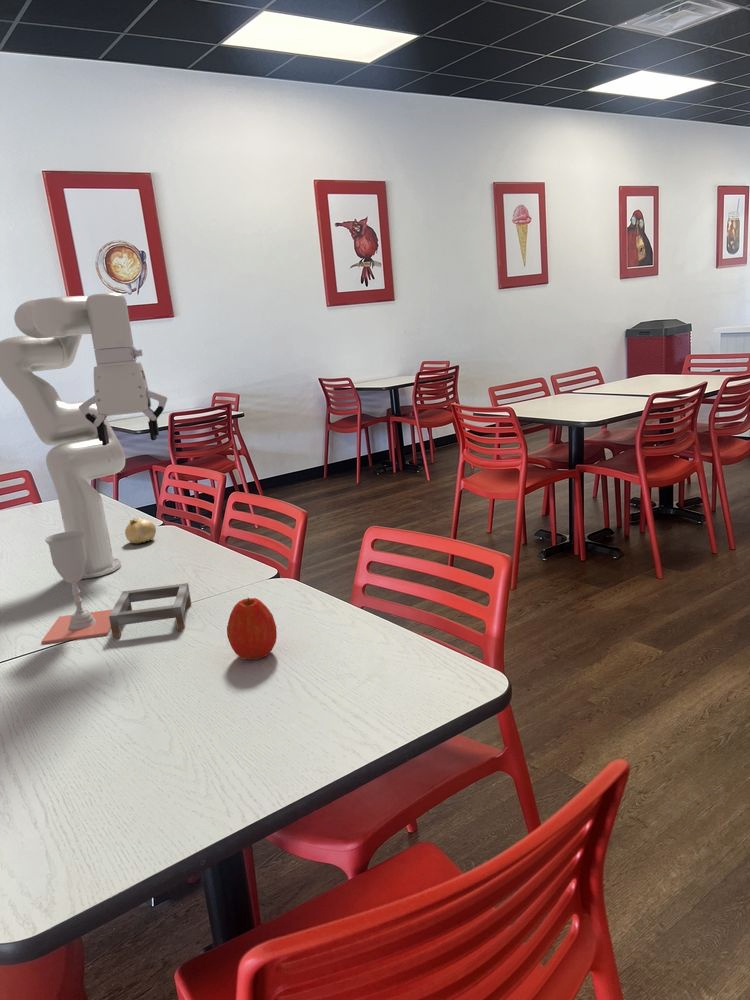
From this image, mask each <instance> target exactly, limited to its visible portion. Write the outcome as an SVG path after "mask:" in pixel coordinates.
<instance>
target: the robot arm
mask: <svg viewBox="0 0 750 1000" xmlns="http://www.w3.org/2000/svg"><path fill="white" fill-rule="evenodd" d="M127 303H128V302H127V299H126V297H125V295H123V294H122V293H118V292H105V293H104V292H103V293H102V292H101V293H94V294H91V295H74V296H72V295H71V296H70V295H69V296H67V295H66V296H54V297H53V296H51V297H44V298H38V299H31V300H28V301H27V300H26V301H24V302H23V303H21V304H19V306H18V307H17V308H16V310H15V312H14V317H13V319H14V324H15V327H17V329H18V330H19V331H20V332H21V333H22V334H23V335H22V336H21V335H20V336H19V335H18V336H12V337H11V336H10V337H8V338H4V339H2V340H0V379H1V381H2V383H3V384H4V386H5V387H6V388H7V389H8V390H9V391H10V392H11V394H12V395H14V397H15V398H16V400H18V402H19V403H20V405H21V406H22V409H23V410H24V413H25V415H26V416H27V418H28V420H29V422H30V424H31V426H32V428H33V430H34V432H35V433H36V435H37V437H38V438H39V440H40V441H41V442H42V443H43V444H44V445H47V446H52V448H51V449H50V450H49V451H48V452H47V454H46V457H45V463H46V467H47V471H48V474H49V476H50V478H51V481H52V483H53V486H54V490H55V492H56V497H57V500H58V504H59V508H60V509H59V510H60V514H61V519H62V523H63V525H62V526H63V528H64V532H70V531H82V532H84V533H85V534H84V537H83V543H84V548H85V553H86V563H85V568H84V572H83V575H82V578H81V580H83V579H84V580H85V579H92V578H97V577H98V578H99V577H103V576H104V575H108V574H111V573H114V572H115V571H117V570H118V569H120V568H121V566H122V563H121V560H120V559H119V558H116V557H114V556H113V551H112V544H111V539H110V534H109V529H108V524H107V519H106V512H105V507H104V503H103V498H102V496H101V494H100V493H99V492H98V491H97V490H96V489H95V488H94V486H92V485H91V484H90V482H89V481H93V480H95V479H99V478H103V477H107V476H113V475H115V474H118V473H120V472H121V471H123V469H124V468H125V466H126V456H125V451H124V449H123V446H122V444H121V443H120V441H119V439H118V437H117V435H116V433H115V432H114V429H113V428H112V425H111V424H110V422H109V421H108V418H107V417H109V416H121V415H130V414H131V415H132V414H139V413H143V414H144V415H145V416H146V417H147V418H148V420H149V421H147V423H148V430H149V435H150V440H151V441H155V440H157V438H158V437H157V436H159V435H160V432H159V424H158V419H159V417H160V416H161V414H162V413H163V412H164V410H165V407H166V405H167V402H168V397H167V396H165V395H163V394H160V393H157V392H155V391H152V390H150V389H149V386H148V383H147V378H146V375H145V372H144V368H143V365H142V362H139V361H138V362H137V359H138V358H139V357H143V350H142V349H138V348H135V347H136V346H134V341H133V334H132V329H131V321H130V316H129V315H130V314H129V309H128V304H127ZM83 335H91V338H92V339H91V340H92V344H93V345H92V346H93V349H94V350H93V351H94V356H95V362H96V366H94V367H93V387H94V395H93V396H92V397H91V398H88V399H87V400H84V401H83V400H81V401H75V402H64V401H63V400H62V399H61V397H60V396H59V394H58V392H57V389H56V388H55V387H54V386H53V385H51V384H50V382H48V381H46V379H43V378H41V377H40V376H38V375H36V374H34V373H33V372H43V371H51V370H60V369H65V368H68V367H70V366H71V365H72V364H73V363H74V361H75V359H76V356H77V353H78V349H79V345H80V343H81V340H82V336H83ZM151 399H152V400H154V401H157V402H158V404H157V408H156V409H155V410H154V409H152V408H151V407H152V402H151ZM53 446H54V447H53Z"/></svg>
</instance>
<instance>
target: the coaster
mask: <svg viewBox="0 0 750 1000" xmlns="http://www.w3.org/2000/svg"><path fill="white" fill-rule="evenodd" d="M112 610H113V608H112V609H106V610H100V611H99V610H98V611H92V612H91V611H89V612H90V613H91V615H92V616H93V618H94V619H95V620H96V622H95V623H94V624H93V625H91V626H89V627H86V628H82V629H70V628H69V624H70V620H71V616H72V614H69V615H61V616H58V617H57V619H56V621H54V623H53V624H52V626H51V627H50V629H49V630H48V631H47V632H46V634H45V636H44V637H43V638H42V640H41V641H40V642H41V644H42V645H43V644H50V643H51V644H52V643H59V642H65V641H71V640H74V641H75V640H81V639H88V638H95V637H102V636H108V635H109V633H110V632H111V631H112V630H111V625H110V620H109V615H110V614H111V612H112Z"/></svg>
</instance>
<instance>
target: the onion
mask: <svg viewBox="0 0 750 1000" xmlns="http://www.w3.org/2000/svg"><path fill="white" fill-rule="evenodd" d="M156 533H157V529H156V525H155V523H154V522H152V521H151V520H148V519H145V518H135V517H134V518H132V519H130V520H129V523H128V524H127V526H126V527H125V531H124V535H125V538H126V540H127V541H128V542H130V543H132V544H141V543H142V542H143V543H146V541H148V542H150V541H149V540H151V539H153V540H154V538H155V536H156Z"/></svg>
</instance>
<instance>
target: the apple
mask: <svg viewBox="0 0 750 1000" xmlns="http://www.w3.org/2000/svg"><path fill="white" fill-rule="evenodd" d="M230 612H231V613H230V615H229V618H228V621H227V625H226V634H227V635H226V636H227V639H228V642H229V645H230V647H231V649H232V650H233V652H234V653H235V654H236V655H237V656H238V657H239V658H241V659H244V660H256V659H261V658H264V657H267V656H268V655H269V654H270V653H271V652H272V650H273V649H274V647H275V645H276V643H277V624H276V622H275V618H274V616H273V613H272V612H271V611H270V609H269V608H268V607H267V605H265V603H264V602H262V601H261V600H260V599H259V598H257V597H254V598H250V597H247V598H243V599H241V600H239V601H238V602H236V604H235V605H234V606H233V608H232V610H231V611H230Z"/></svg>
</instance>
